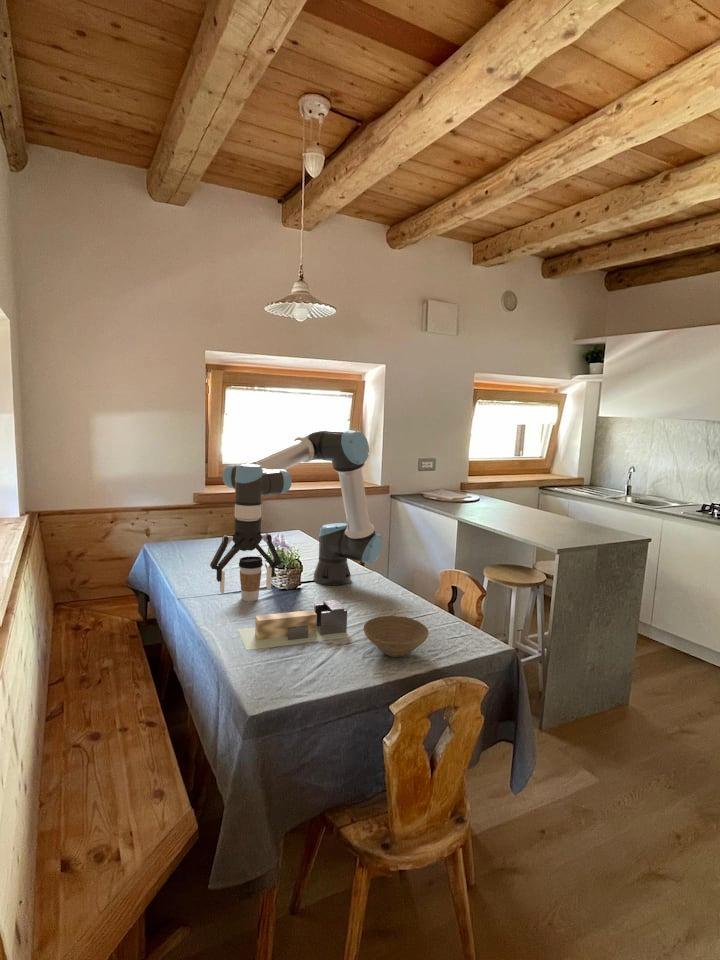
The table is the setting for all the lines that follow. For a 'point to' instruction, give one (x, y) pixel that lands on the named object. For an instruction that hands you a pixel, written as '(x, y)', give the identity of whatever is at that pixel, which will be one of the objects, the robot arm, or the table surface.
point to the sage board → (283, 639)
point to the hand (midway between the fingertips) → (245, 590)
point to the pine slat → (283, 623)
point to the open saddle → (297, 632)
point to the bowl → (395, 634)
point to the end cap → (331, 617)
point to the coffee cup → (250, 577)
